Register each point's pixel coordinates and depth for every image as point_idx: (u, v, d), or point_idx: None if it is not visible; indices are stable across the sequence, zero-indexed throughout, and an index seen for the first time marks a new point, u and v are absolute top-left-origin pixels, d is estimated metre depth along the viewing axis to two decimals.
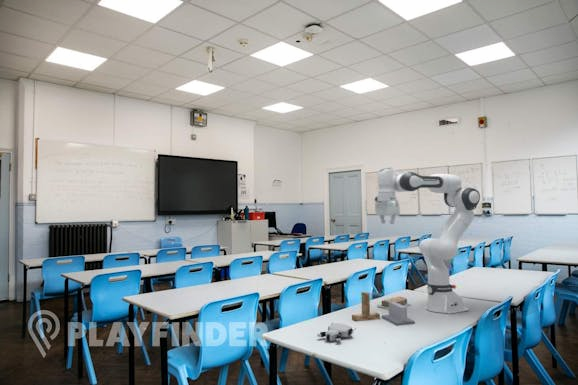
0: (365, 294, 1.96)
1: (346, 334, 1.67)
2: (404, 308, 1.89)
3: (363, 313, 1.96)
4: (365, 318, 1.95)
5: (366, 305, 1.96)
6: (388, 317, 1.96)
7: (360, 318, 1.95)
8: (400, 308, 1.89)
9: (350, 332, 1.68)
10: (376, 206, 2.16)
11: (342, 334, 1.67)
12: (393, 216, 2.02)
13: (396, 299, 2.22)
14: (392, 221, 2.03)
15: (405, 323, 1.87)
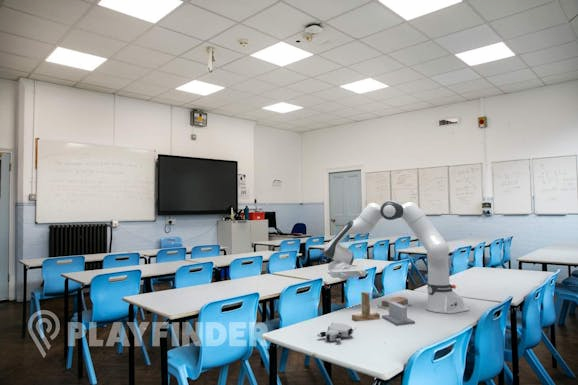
0: (365, 294, 1.96)
1: (346, 334, 1.67)
2: (404, 308, 1.89)
3: (363, 313, 1.96)
4: (365, 318, 1.95)
5: (366, 305, 1.96)
6: (388, 317, 1.96)
7: (360, 318, 1.95)
8: (400, 308, 1.89)
9: (350, 332, 1.68)
10: None
11: (342, 334, 1.67)
12: (339, 274, 2.13)
13: (396, 299, 2.22)
14: (343, 275, 2.11)
15: (405, 323, 1.87)
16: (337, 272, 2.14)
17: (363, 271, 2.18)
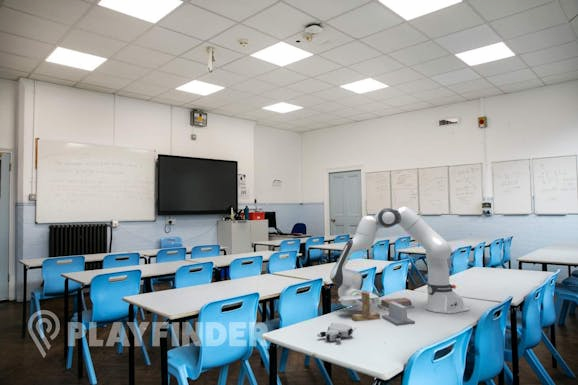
0: (365, 294, 1.96)
1: (346, 334, 1.67)
2: (404, 308, 1.89)
3: (363, 313, 1.96)
4: (365, 318, 1.95)
5: (366, 305, 1.96)
6: (388, 317, 1.96)
7: (360, 318, 1.95)
8: (400, 308, 1.89)
9: (350, 332, 1.68)
10: None
11: (342, 334, 1.67)
12: (355, 302, 1.99)
13: (397, 300, 2.20)
14: (359, 303, 1.97)
15: (405, 323, 1.87)
16: (349, 300, 1.99)
17: (376, 298, 2.03)
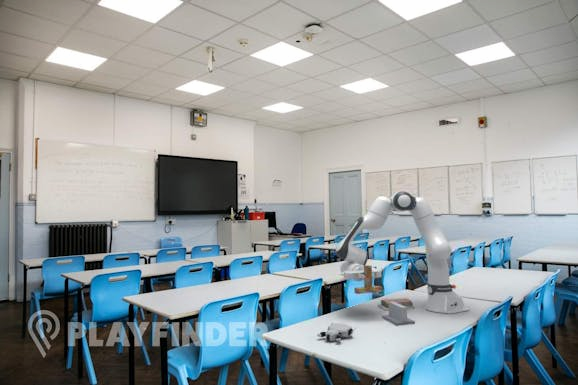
0: (367, 267, 1.96)
1: (346, 334, 1.67)
2: (404, 308, 1.89)
3: (365, 286, 1.97)
4: (368, 291, 1.96)
5: (368, 278, 1.96)
6: (388, 317, 1.96)
7: (362, 291, 1.95)
8: (400, 308, 1.89)
9: (350, 332, 1.68)
10: None
11: (342, 334, 1.67)
12: (358, 276, 2.00)
13: (398, 300, 2.20)
14: (362, 277, 1.97)
15: (405, 323, 1.87)
16: (351, 273, 2.00)
17: (379, 272, 2.04)
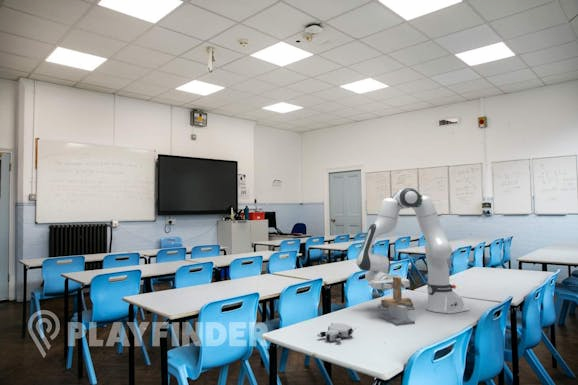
0: (397, 279, 1.93)
1: (346, 334, 1.67)
2: (404, 308, 1.89)
3: (395, 298, 1.94)
4: (397, 303, 1.93)
5: (397, 290, 1.93)
6: (388, 317, 1.96)
7: (392, 303, 1.92)
8: (400, 308, 1.89)
9: (350, 332, 1.68)
10: None
11: (342, 334, 1.67)
12: (383, 286, 1.96)
13: None
14: (388, 287, 1.94)
15: (405, 323, 1.87)
16: (379, 283, 1.97)
17: (407, 282, 2.01)
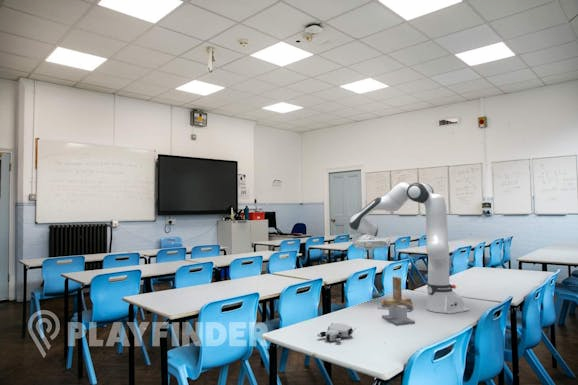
0: (397, 279, 1.93)
1: (346, 334, 1.67)
2: (404, 308, 1.89)
3: (395, 298, 1.94)
4: (397, 303, 1.93)
5: (397, 290, 1.93)
6: (388, 317, 1.96)
7: (392, 303, 1.92)
8: (400, 308, 1.89)
9: (350, 332, 1.68)
10: (383, 246, 2.30)
11: (342, 334, 1.67)
12: (365, 244, 2.21)
13: None
14: (369, 244, 2.18)
15: (405, 323, 1.87)
16: (363, 242, 2.21)
17: (388, 241, 2.25)
